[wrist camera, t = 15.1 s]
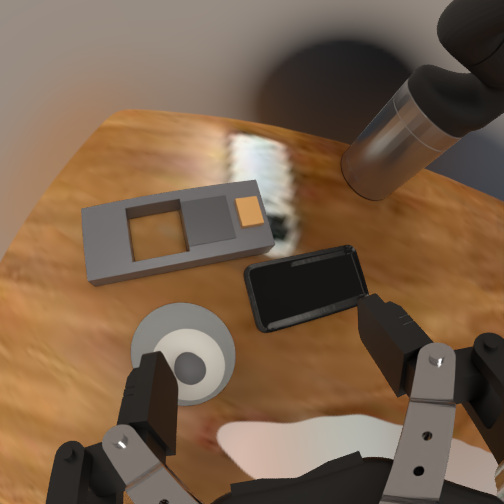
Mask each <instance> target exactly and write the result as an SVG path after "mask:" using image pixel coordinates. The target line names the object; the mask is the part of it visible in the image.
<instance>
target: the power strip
mask: <svg viewBox="0 0 504 504" xmlns="http://www.w3.org/2000/svg"><path fill="white" fill-rule="evenodd" d="M176 210H179V212H180V218H181V223H182V228H183V233H184V238H185V242H186V247H187V252H184V253H178V254H173V255H168V256H163V257H158V258H152V259H147V260H142V261H137V262H135V259H134V253H133V246H132V239H131V232H130V225H129V219H132V218H137V217H143V216H148V215H154V214H159V213H165V212H171V211H176ZM81 213H82V229H83V242H84V253H85V262H86V271H87V279H88V282H90V283H91V284H92V285H94V286H100V285H105V284H111V283H116V282H121V281H126V280H131V279H136V278H141V277H147V276H152V275H157V274H162V273H167V272H172V271H177V270H182V269H187V268H192V267H197V266H203V265H208V264H213V263H218V262H223V261H228V260H233V259H238V258H243V257H248V256H253V255H258V254H263V253H268V252H269V250H270V249H271V248H272V247H273V246H274V245H275V243H274V239H273V236H272V232H271V229H270V226H269V222H268V219H267V215H266V212H265V209H264V205H263V202H262V198H261V195H260V192H259V188H258V185H257V182H256V180H250V181H242V182H234V183H226V184H219V185H212V186H205V187H198V188H191V189H185V190H178V191H172V192H166V193H160V194H154V195H149V196H143V197H137V198H132V199H127V200H122V201H116V202H111V203H106V204H102V205H97V206H92V207H87V208H83V209H81Z"/></svg>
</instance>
